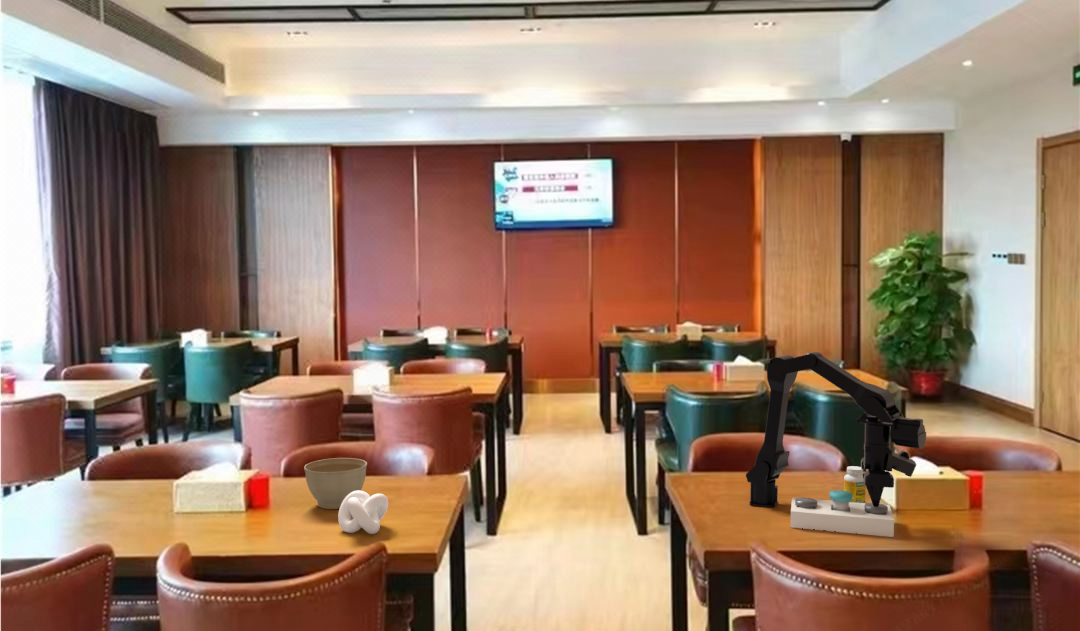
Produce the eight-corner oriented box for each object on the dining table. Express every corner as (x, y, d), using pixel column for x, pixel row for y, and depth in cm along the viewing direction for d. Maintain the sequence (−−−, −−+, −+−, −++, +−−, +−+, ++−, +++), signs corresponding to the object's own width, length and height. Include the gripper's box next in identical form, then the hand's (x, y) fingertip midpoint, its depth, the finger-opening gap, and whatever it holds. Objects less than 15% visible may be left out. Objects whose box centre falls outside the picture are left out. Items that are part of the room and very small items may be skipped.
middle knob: (829, 514, 201) (829, 495, 201) (829, 508, 206) (829, 489, 206) (852, 516, 200) (852, 497, 199) (851, 510, 205) (851, 491, 204)
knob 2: (864, 527, 199) (865, 508, 199) (863, 520, 204) (863, 502, 204) (888, 529, 198) (888, 510, 197) (886, 522, 202) (886, 504, 202)
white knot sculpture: (390, 537, 196) (389, 500, 195) (337, 541, 194) (336, 503, 193) (388, 522, 207) (387, 487, 206) (338, 525, 205) (337, 490, 204)
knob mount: (790, 527, 201) (790, 511, 201) (791, 512, 213) (792, 497, 212) (893, 536, 194) (893, 520, 194) (889, 521, 205) (889, 505, 205)
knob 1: (794, 521, 204) (795, 502, 204) (795, 515, 209) (795, 496, 209) (817, 523, 203) (817, 504, 202) (817, 516, 207) (817, 498, 207)
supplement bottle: (851, 499, 224) (852, 464, 223) (869, 504, 219) (870, 468, 219) (839, 502, 221) (839, 467, 220) (856, 507, 216) (857, 471, 216)
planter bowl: (379, 503, 223) (379, 463, 222) (327, 518, 211) (326, 475, 210) (345, 492, 233) (344, 454, 233) (293, 505, 222) (292, 465, 221)
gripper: (918, 453, 188) (916, 521, 189) (909, 436, 206) (908, 498, 207) (865, 450, 191) (864, 516, 193) (861, 433, 209) (860, 494, 210)
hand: (875, 506), depth 200 cm, fingers closed, pressing on knob 2
